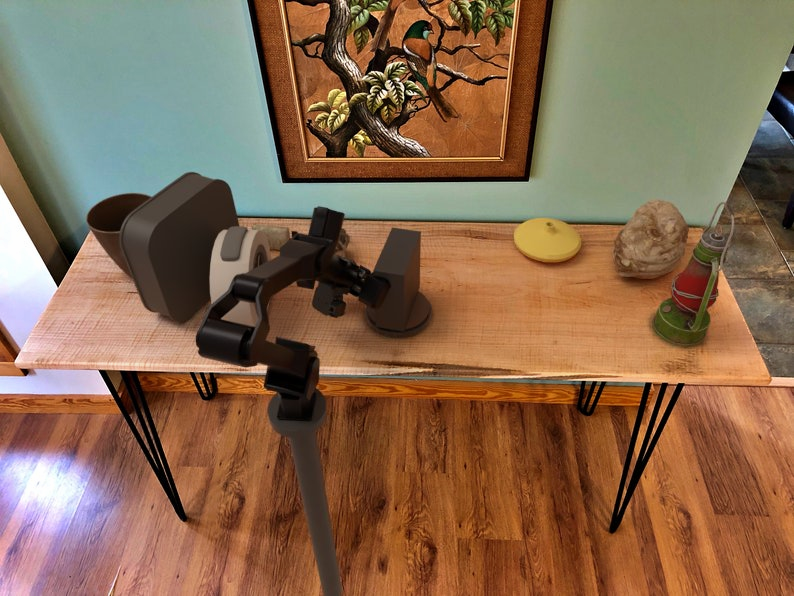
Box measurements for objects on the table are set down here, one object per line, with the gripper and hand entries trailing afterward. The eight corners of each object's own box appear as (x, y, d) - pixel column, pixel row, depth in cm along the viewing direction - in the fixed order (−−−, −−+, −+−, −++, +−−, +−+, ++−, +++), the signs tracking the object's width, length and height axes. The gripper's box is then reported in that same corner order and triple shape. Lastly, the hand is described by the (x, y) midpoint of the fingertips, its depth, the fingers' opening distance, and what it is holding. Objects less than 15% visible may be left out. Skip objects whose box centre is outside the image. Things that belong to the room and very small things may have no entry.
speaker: (176, 332, 129) (141, 235, 112) (144, 319, 132) (105, 223, 115) (247, 263, 146) (226, 170, 129) (218, 253, 149) (194, 160, 132)
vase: (593, 253, 147) (599, 229, 142) (544, 278, 141) (549, 253, 136) (546, 221, 157) (550, 197, 152) (498, 243, 150) (501, 219, 146)
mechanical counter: (297, 244, 142) (334, 246, 138) (322, 210, 150) (358, 211, 146) (308, 267, 147) (344, 270, 143) (331, 233, 155) (366, 235, 150)
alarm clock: (258, 346, 126) (241, 272, 113) (222, 346, 126) (200, 272, 113) (275, 278, 142) (261, 205, 128) (242, 278, 142) (225, 205, 129)
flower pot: (174, 243, 152) (157, 187, 141) (178, 281, 141) (160, 224, 130) (110, 256, 148) (86, 199, 138) (109, 296, 138) (84, 238, 127)
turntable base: (431, 339, 127) (431, 334, 126) (362, 337, 128) (362, 332, 127) (431, 293, 138) (431, 288, 136) (368, 291, 138) (368, 286, 137)
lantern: (645, 304, 134) (687, 185, 114) (695, 306, 133) (747, 187, 113) (659, 352, 124) (708, 230, 104) (714, 355, 123) (775, 233, 103)
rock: (682, 295, 136) (705, 240, 126) (608, 288, 138) (624, 233, 128) (669, 246, 149) (689, 192, 139) (602, 240, 151) (616, 187, 141)
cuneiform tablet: (299, 259, 147) (249, 254, 148) (304, 250, 151) (256, 246, 152) (297, 231, 143) (247, 227, 144) (302, 223, 147) (253, 219, 148)
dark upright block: (359, 325, 128) (355, 267, 117) (377, 282, 138) (375, 224, 127) (421, 337, 125) (422, 278, 115) (435, 291, 135) (437, 233, 125)
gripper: (273, 285, 121) (319, 298, 134) (343, 329, 112) (385, 338, 125) (298, 234, 120) (342, 252, 133) (371, 273, 111) (410, 288, 124)
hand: (368, 283), depth 129 cm, fingers closed
